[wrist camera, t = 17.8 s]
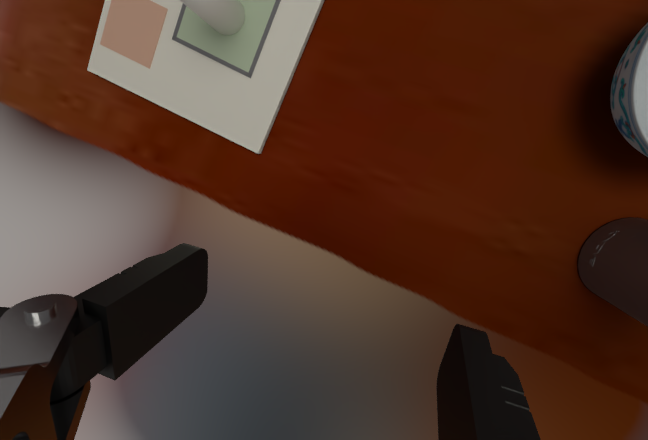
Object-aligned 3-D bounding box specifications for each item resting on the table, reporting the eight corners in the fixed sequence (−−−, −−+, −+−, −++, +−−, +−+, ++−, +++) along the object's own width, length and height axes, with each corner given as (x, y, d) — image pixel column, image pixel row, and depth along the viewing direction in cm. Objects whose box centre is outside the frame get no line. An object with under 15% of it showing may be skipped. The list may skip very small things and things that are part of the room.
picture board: (350, -64, 30) (350, -71, 29) (260, 153, 35) (257, 153, 34) (156, -163, 30) (148, -174, 29) (94, 72, 35) (86, 69, 34)
